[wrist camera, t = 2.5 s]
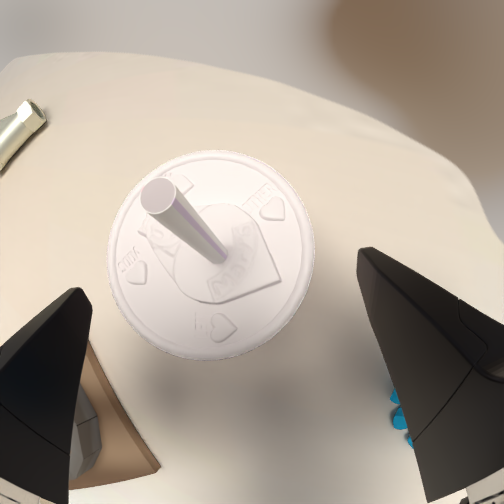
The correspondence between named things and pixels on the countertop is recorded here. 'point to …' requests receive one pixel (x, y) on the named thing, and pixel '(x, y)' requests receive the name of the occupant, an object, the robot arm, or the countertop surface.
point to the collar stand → (104, 435)
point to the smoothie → (210, 255)
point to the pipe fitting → (19, 129)
